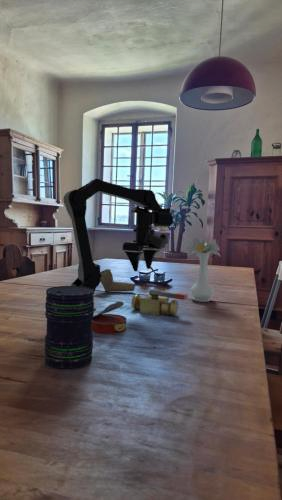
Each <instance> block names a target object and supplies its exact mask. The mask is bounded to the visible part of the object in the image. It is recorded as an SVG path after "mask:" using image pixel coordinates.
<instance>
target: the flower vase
mask: <svg viewBox="0 0 282 500" xmlns="http://www.w3.org/2000/svg"><path fill="white" fill-rule="evenodd" d="M187 250H188V253H187V256H186V258H188V257H189V256H190V255H191V254H195V255H196V258H198V259H199V269H198V277H197V280H196V282H195V283H194V285H192V286H191V288H190V294H191V296H192V297H193V300H194V301H195V302H200V303H201V302H202V303H206V302H209V301H211V300H210V299H211V298H213V296H214V295H215V290H214V288H213V287H212V285H211V284H210V282H209V279H208V263H209V262H208V261H209V259H210V255H211V254H213V255H216V256H217V255H218V256H219V257H220V258H221V254H220V253H219V251H221V249H220V247H219V244H218V243H217V241H216V239H215V238H214V239H213V240H212V241H211V239H210V238H206V237H205V238H201V239H198V238H195V237H194V238H193V239H192V238H191V241H190V245H188V246H187Z"/></svg>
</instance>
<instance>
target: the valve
mask: <svg viewBox="0 0 282 500" xmlns="http://www.w3.org/2000/svg"><path fill="white" fill-rule="evenodd" d="M169 299H170V297H163V296H151V295H149V294H147V295H145V296H141V295H140V294H134V295H133V296H132V298H131V303H130V304H131V309H133V310H139V313H140V314H146V315H151V316H152V315H153V316H157V317H160V316H163V315H167V316H172V317H175V316H176V315H177V313H178V310H179V302H178V300H177V299H175V300H174V299H172V300H171V301H170V302H169Z"/></svg>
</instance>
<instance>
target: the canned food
mask: <svg viewBox="0 0 282 500" xmlns="http://www.w3.org/2000/svg"><path fill="white" fill-rule="evenodd" d="M124 305H125V303H124V302H123V301H116V302H115V303H111V304H109V305H108V306H107V307H105V308H104V309H103V310H101V311H100V312H99V313H97V314H95V315H93V317H92V332H93V333H95V332H96V334H100V335H116V334H117V335H118V334H122V333H124V332H126V330H127V317H125V316H124V315H120V314H116V313H115V314H114V313H109V312H113V311H115V310H117V309H119V308H122V307H124Z"/></svg>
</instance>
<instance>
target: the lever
mask: <svg viewBox="0 0 282 500" xmlns="http://www.w3.org/2000/svg"><path fill="white" fill-rule="evenodd" d="M188 294H189V293H187V292H186V293H185V292H176V291H168V290H161V289H158V288H157V289H156V288H155V289H154V288H153V289H152V288H151V289H149V290H148V295H151V296H163V297H169V299H175V300H183V301H185V300H186V301H187V300H188V298H189V297H188Z"/></svg>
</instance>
